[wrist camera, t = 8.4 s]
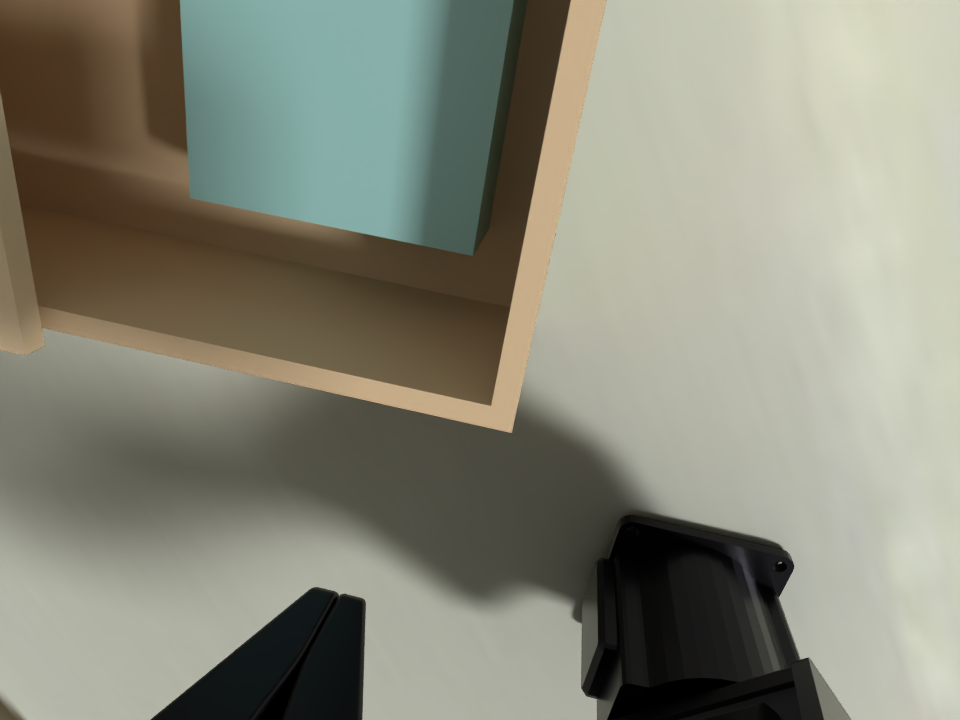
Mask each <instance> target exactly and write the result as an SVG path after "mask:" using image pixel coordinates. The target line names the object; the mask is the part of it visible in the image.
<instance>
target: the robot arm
mask: <svg viewBox="0 0 960 720" xmlns="http://www.w3.org/2000/svg"><path fill="white" fill-rule="evenodd" d="M630 527H634V528H636V530H634V531H629V530H627V529H628V528H630ZM776 562H782V563H781V564H774V563H776ZM793 569H794V564H793V561H792V559H791V556H790V554H789V553H788V552H787V551H785V550H782V549H778V548H774V547H769V546H765V545H761V544H756V543H752V542H748V541H743V540H739V539H735V538H730V537H726V536H722V535H717V534H713V533H708V532H704V531H700V530H695V529H691V528H687V527H682V526H678V525H674V524H669V523H665V522H661V521H656V520H652V519H648V518H643V517H639V516H634V515H628V516H625V517H623V518H622V519H620V521H619V523H618V525H617V528H616V531H615V534H614V537H613V540H612V543H611V546H610V549H609V552H608V555H607V558H606V559H605V558H601V559H600V560H598V561H597V562H596V564H595V567H594V570H593V573H592V576H591V579H590V582H589V585H588V588H587V591H586V594H585V597H584V600H583V604H582V663H581V689H582V690H583V692H584V693H585V695H586V696H587V697H591V698H595V699H597V720H851V718H850V717H849V715H848V714H847V712H846V711H845V709H844V708H843V707H842V705H841V704H840V702H839V701H838V699H837V698H836V696H835V695H834V693H833V692H832V690H831V689H830V687H829V686H828V684H827V683H826V681H825V680H824V678H823V677H822V675H821V674H820V673H819V671H818V670H817V668H816V667H815V665H814V664H813V662H812V661H811V659H810V658H805V659H802V660H801V659H800V656H799V654H798V651H797V648H796V645H795V642H794V640H793V637H792V634H791V631H790V628H789V626H788V623H787V620H786V617H785V614H784V612H783V609H782V606H781V603H780V600H779V596H780V594H781V592H782V591H783V589H784V587H785V585H786V583H787V581H788V579H789V577H790V575H791V574H792V572H793ZM365 612H366V602H365V600H364V599H363V598H359V597H355V596H351V595H347V594H341V595H340V596H339V594H338V593H337V592H335V591H331V590H327V589H323V588H319V587H314V588H311V589H310V590H308V591H307V592H306V593H305V594H304V595H302V596H301V597H300V598H299V599H297V600H296V601H295V602H294V603H293V604H291V605H290V606H289V607H288V608H286V609H285V610H284V611H283V612H282V613H280V614H279V615H278V616H277V617H275V618H274V619H273V620H272V621H271V622H269V623H268V624H267V625H266V626H264V627H263V628H262V629H261V630H260V631H258V632H257V633H256V634H255V635H253V636H252V637H251V638H250V639H249V640H247V641H246V642H245V643H244V644H242V645H241V646H240V647H239V648H238V649H236V650H235V651H234V652H233V653H231V654H230V655H229V656H228V657H227V658H225V659H224V660H223V661H222V662H220V663H219V664H218V665H217V666H216V667H214V668H213V669H212V670H211V671H209V672H208V673H207V674H206V675H205V676H203V677H202V678H201V679H200V680H198V681H197V682H196V683H195V684H194V685H192V686H191V687H190V688H189V689H187V690H186V691H185V692H184V693H183V694H181V695H180V696H179V697H178V698H176V699H175V700H174V701H173V702H172V703H170V704H169V705H168V706H167V707H165V708H164V709H163V710H162V711H160V712H159V713H158V714H157V715H156V716H154V717H153V718H152V719H151V720H362V712H363V679H364V646H365Z"/></svg>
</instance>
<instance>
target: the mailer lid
mask: <svg viewBox="0 0 960 720" xmlns="http://www.w3.org/2000/svg"><path fill="white" fill-rule="evenodd" d="M43 346H45V343H44V337H43V332H42V326H41V320H40V315H39V309H38V303H37V298H36V292H35V286H34V280H33V275H32V269H31V263H30V258H29V252H28V246H27V241H26V235H25V229H24V224H23V218H22V212H21V207H20V201H19V195H18V190H17V184H16V178H15V173H14V167H13V161H12V156H11V150H10V144H9V139H8V133H7V127H6V122H5V116H4V110H3V105H2V99H1V93H0V350H2V351H7V352H11V353H15V354H20V355H24V356H26V355H28V354H30V353H32V352H34V351H36V350H38V349H39V348H41V347H43Z"/></svg>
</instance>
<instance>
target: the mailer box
mask: <svg viewBox="0 0 960 720" xmlns="http://www.w3.org/2000/svg"><path fill="white" fill-rule="evenodd" d="M605 5H606V0H0V93H1V99H2V105H3V110H4V116H5V122H6V127H7V133H8V139H9V144H10V150H11V156H12V161H13V167H14V173H15V178H16V184H17V190H18V195H19V201H20V207H21V212H22V218H23V224H24V229H25V235H26V241H27V246H28V252H29V258H30V263H31V269H32V275H33V280H34V286H35V292H36V298H37V303H38V309H39V315H40V320H41V326H42V328H45V329H50V330H54V331H59V332H63V333H68V334H72V335H76V336H81V337H85V338H90V339H94V340H99V341H103V342H108V343H112V344H117V345H121V346H126V347H130V348H134V349H139V350H143V351H148V352H152V353H157V354H161V355H166V356H170V357H175V358H179V359H184V360H188V361H192V362H197V363H201V364H206V365H210V366H215V367H219V368H224V369H228V370H233V371H237V372H242V373H246V374H250V375H255V376H259V377H264V378H268V379H273V380H277V381H282V382H286V383H291V384H295V385H300V386H304V387H309V388H313V389H317V390H322V391H326V392H331V393H335V394H340V395H344V396H349V397H353V398H358V399H362V400H367V401H371V402H375V403H380V404H384V405H389V406H393V407H398V408H402V409H407V410H411V411H416V412H420V413H425V414H429V415H433V416H438V417H442V418H447V419H451V420H456V421H460V422H465V423H469V424H474V425H478V426H483V427H487V428H491V429H496V430H500V431H505V432H509V433H512V429H513V425H514V420H515V415H516V411H517V406H518V402H519V397H520V393H521V388H522V384H523V379H524V374H525V370H526V365H527V361H528V356H529V352H530V347H531V342H532V338H533V333H534V329H535V324H536V320H537V315H538V311H539V306H540V301H541V297H542V292H543V288H544V283H545V279H546V274H547V269H548V265H549V260H550V256H551V251H552V247H553V242H554V238H555V233H556V228H557V224H558V219H559V215H560V210H561V206H562V201H563V196H564V192H565V187H566V183H567V178H568V174H569V169H570V165H571V160H572V155H573V151H574V146H575V142H576V137H577V133H578V128H579V124H580V119H581V114H582V110H583V105H584V101H585V96H586V92H587V87H588V82H589V78H590V73H591V69H592V64H593V60H594V55H595V51H596V46H597V41H598V37H599V32H600V28H601V23H602V19H603V14H604V9H605Z"/></svg>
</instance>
